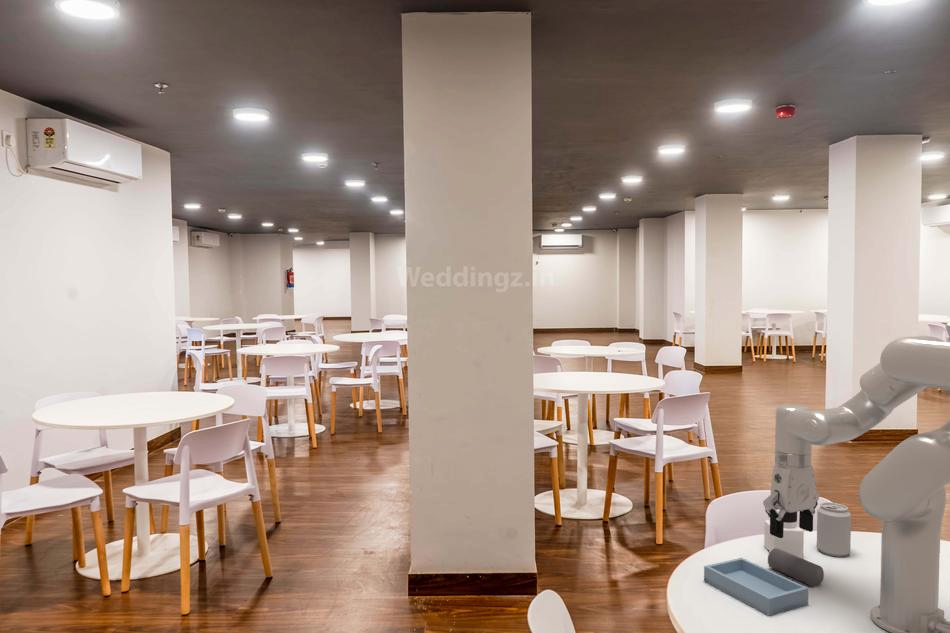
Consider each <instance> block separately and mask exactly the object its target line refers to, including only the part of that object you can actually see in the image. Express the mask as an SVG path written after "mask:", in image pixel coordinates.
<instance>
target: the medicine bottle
mask: <svg viewBox="0 0 950 633" xmlns="http://www.w3.org/2000/svg"><path fill="white" fill-rule="evenodd" d="M779 511H780V510H778V509H777V511H776V512H777V514H778V513H779ZM781 520H783V521H784V531H783V538H778V537H776V536H773V535H771V534H770V519H765V520H764V534H763V535H764V538H763V539H764V542H763V543H764V545H763V547H764V546H765V547H766V548H767V549H768V550H769V551H768V550H767V549H766V548H765V547H764V548H765V549H766V550H767V551H768V553H770V552H771V551H772V550H773V549H775V548H778V549H780V550H783V551H785V552H787V553H790V554H792V555H795V556H797V557H799V558H802V559H804V542H805V540H804V539H805V538H804V535H805V534H804V532H805V530H804V529H801V528H800V527H799V524H798V512H792V513H789V512H785V514H784V516H783V518H782V519H781Z"/></svg>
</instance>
